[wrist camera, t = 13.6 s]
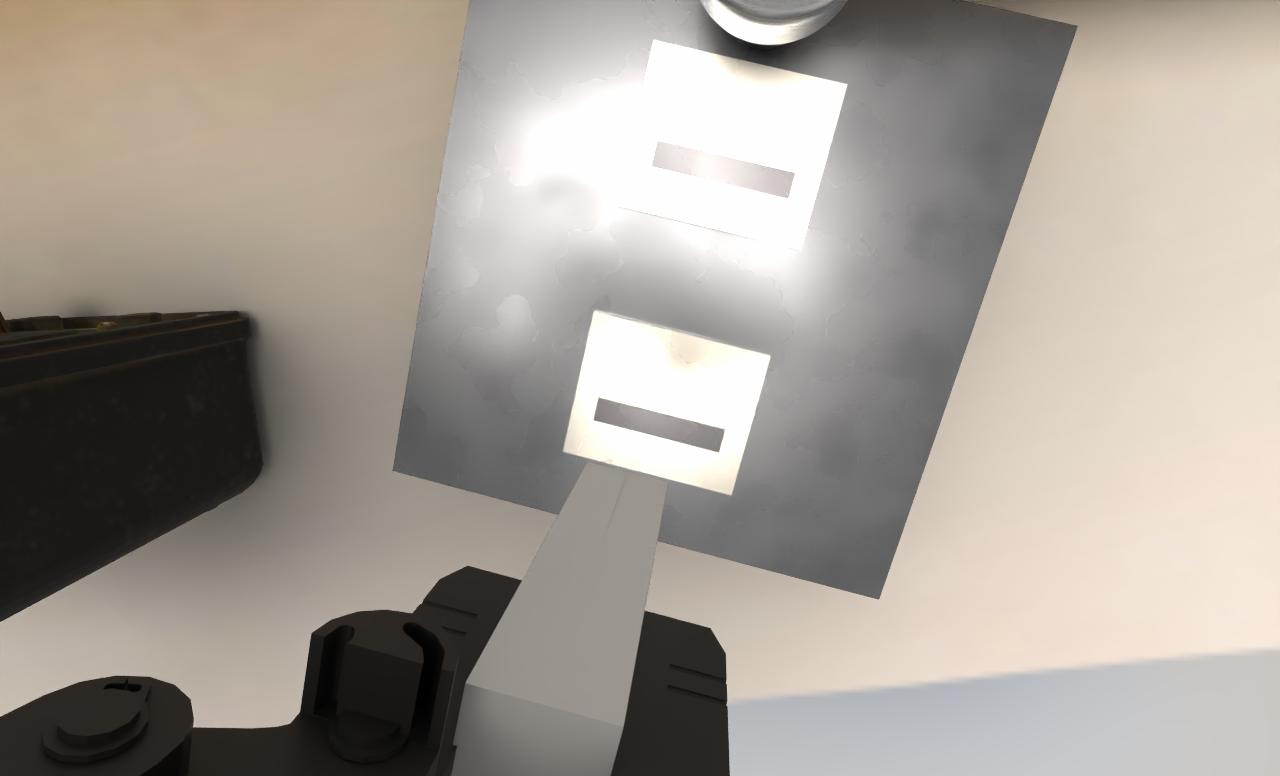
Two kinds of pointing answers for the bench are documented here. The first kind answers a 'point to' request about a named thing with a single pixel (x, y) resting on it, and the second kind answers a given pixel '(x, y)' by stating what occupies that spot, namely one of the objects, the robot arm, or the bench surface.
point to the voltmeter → (115, 438)
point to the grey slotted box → (720, 262)
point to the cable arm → (772, 18)
